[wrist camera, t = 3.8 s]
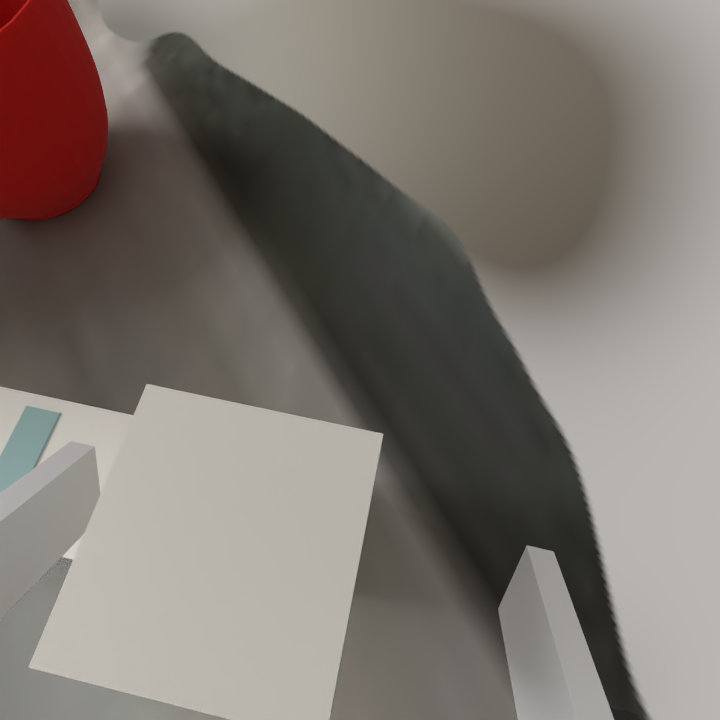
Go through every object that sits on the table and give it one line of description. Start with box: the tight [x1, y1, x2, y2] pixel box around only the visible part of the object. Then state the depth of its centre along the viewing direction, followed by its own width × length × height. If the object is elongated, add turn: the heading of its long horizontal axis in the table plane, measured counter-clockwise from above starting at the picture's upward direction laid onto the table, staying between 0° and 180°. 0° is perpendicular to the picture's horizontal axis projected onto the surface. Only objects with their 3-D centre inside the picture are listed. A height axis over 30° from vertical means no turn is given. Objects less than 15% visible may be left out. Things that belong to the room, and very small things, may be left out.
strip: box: [0, 387, 133, 560], centre depth 18 cm, size 12×6×2 cm, turn 78°
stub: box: [28, 384, 383, 720], centre depth 13 cm, size 5×5×13 cm
